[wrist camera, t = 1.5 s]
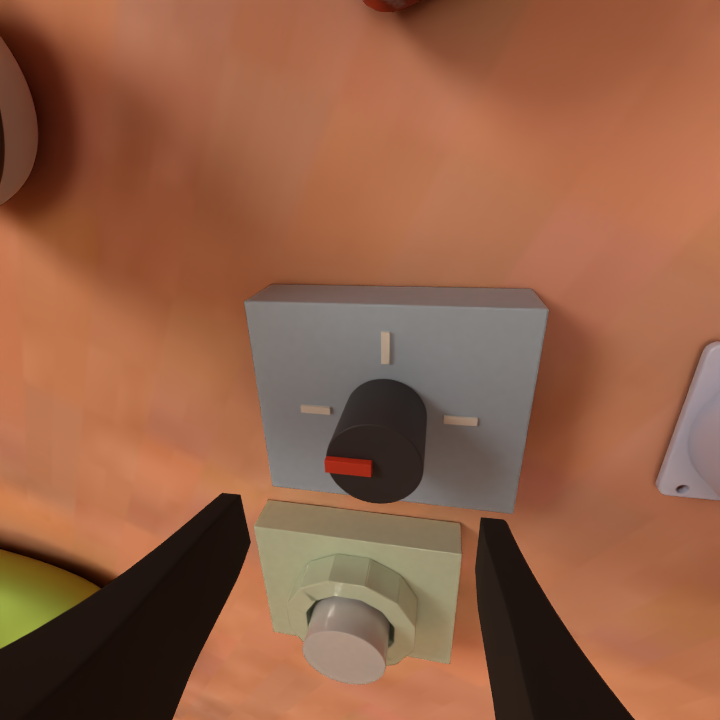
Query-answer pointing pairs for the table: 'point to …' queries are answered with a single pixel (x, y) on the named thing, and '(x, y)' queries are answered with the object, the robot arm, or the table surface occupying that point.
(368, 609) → the button
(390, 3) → the snack package
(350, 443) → the lock dial
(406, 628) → the button base
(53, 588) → the green scoop
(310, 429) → the dial panel
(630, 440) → the table surface
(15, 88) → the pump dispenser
